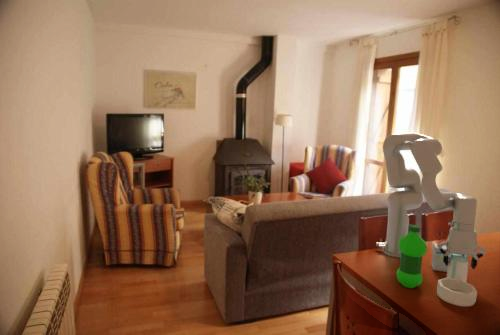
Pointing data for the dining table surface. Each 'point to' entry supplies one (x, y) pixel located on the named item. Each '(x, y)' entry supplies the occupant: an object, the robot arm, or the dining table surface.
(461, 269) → the can
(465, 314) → the dining table surface
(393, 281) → the dining table surface
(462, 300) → the white octagonal bowl
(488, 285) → the dining table surface
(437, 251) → the light bulb box
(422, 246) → the plastic bottle
